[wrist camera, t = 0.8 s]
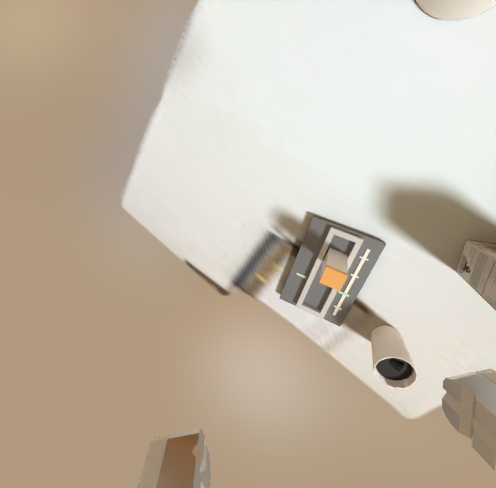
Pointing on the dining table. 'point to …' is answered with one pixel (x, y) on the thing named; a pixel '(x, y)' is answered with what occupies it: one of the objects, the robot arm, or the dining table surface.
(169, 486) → the robot arm
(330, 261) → the fader
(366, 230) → the dining table surface
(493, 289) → the coffee box
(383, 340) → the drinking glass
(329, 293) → the console
